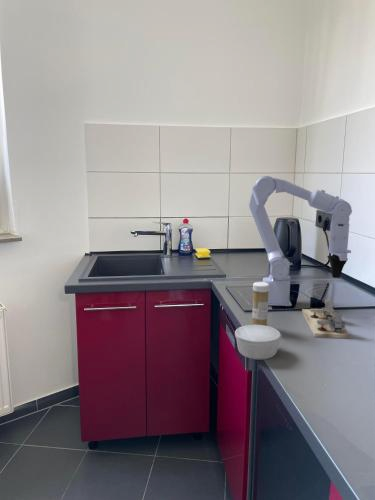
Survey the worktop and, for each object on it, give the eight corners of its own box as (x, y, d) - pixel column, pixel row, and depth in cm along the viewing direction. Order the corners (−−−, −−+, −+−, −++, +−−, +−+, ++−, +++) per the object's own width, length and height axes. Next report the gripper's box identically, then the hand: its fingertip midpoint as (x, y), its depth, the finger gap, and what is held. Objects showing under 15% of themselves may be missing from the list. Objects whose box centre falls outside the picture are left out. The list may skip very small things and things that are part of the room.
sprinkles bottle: (249, 325, 117) (251, 281, 114) (264, 324, 117) (266, 281, 115) (254, 331, 112) (255, 286, 110) (269, 330, 113) (271, 285, 110)
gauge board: (314, 336, 109) (315, 329, 108) (302, 311, 128) (302, 306, 128) (348, 338, 108) (349, 331, 107) (330, 312, 127) (330, 307, 127)
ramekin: (225, 351, 100) (226, 332, 99) (252, 339, 107) (252, 320, 106) (262, 367, 92) (263, 345, 91) (288, 352, 100) (289, 332, 99)
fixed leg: (318, 330, 110) (319, 312, 109) (316, 326, 113) (317, 309, 112) (344, 331, 109) (345, 313, 108) (341, 327, 112) (342, 309, 111)
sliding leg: (311, 317, 119) (312, 301, 118) (309, 314, 122) (310, 298, 121) (335, 318, 119) (336, 302, 118) (332, 315, 122) (333, 299, 121)
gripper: (358, 240, 121) (355, 283, 123) (345, 233, 135) (342, 272, 137) (334, 240, 121) (331, 282, 124) (324, 233, 136) (321, 271, 138)
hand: (335, 277), depth 131 cm, fingers closed
